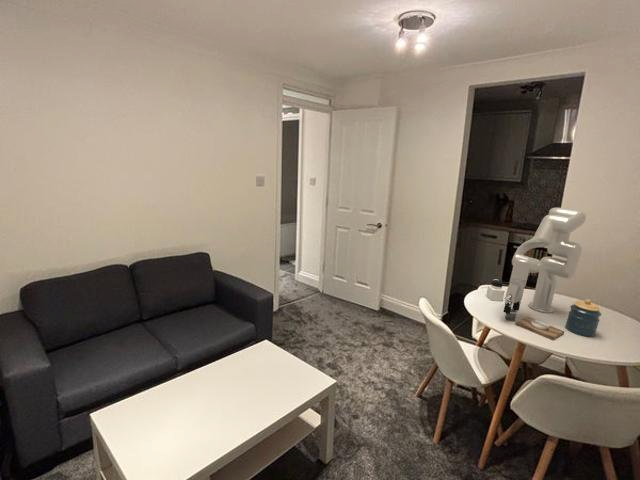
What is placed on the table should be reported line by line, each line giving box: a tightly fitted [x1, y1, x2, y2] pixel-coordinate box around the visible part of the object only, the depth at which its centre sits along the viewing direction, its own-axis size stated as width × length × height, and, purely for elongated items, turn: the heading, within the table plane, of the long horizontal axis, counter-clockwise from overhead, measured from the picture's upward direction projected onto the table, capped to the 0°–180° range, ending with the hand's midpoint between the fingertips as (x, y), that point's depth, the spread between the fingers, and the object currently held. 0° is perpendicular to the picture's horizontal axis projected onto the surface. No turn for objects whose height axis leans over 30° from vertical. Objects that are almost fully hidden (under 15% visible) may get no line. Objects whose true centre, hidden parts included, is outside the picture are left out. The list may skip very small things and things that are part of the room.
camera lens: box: [504, 308, 518, 322], centre depth 190 cm, size 5×5×5 cm
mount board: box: [515, 316, 565, 341], centre depth 181 cm, size 13×18×3 cm
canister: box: [565, 298, 602, 338], centre depth 181 cm, size 13×13×18 cm
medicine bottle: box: [485, 279, 505, 302], centre depth 217 cm, size 7×7×12 cm
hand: (510, 311), depth 190 cm, fingers open, 9 cm apart
